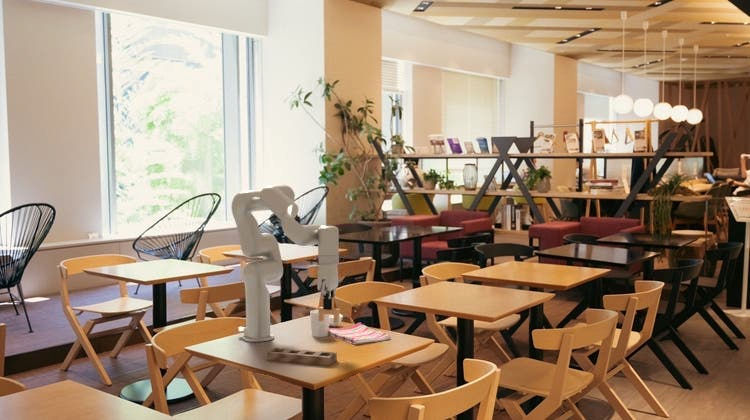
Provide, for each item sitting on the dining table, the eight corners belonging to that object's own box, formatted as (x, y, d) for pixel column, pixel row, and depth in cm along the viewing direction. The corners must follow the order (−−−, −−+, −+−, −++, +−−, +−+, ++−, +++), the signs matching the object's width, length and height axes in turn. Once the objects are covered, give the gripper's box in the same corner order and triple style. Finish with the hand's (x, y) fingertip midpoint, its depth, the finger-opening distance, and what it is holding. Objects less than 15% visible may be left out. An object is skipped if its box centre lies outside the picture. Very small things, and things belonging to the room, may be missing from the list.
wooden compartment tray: (267, 360, 260) (267, 352, 260) (275, 355, 267) (275, 347, 266) (329, 366, 253) (329, 357, 253) (336, 360, 259) (336, 352, 259)
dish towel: (360, 329, 309) (360, 321, 309) (391, 340, 290) (391, 332, 289) (325, 335, 299) (325, 327, 299) (355, 347, 280) (355, 338, 280)
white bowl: (336, 330, 306) (336, 314, 306) (311, 327, 311) (311, 312, 310) (347, 325, 315) (347, 309, 315) (322, 322, 320) (322, 307, 320)
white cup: (315, 338, 292) (314, 314, 291) (307, 334, 299) (307, 310, 298) (332, 336, 296) (332, 312, 295) (325, 332, 303) (324, 308, 302)
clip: (317, 320, 269) (319, 297, 268) (320, 319, 271) (321, 296, 270) (337, 323, 266) (338, 299, 266) (339, 322, 268) (340, 298, 268)
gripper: (327, 256, 276) (327, 304, 277) (310, 262, 260) (311, 312, 262) (345, 257, 273) (345, 305, 275) (330, 262, 258) (330, 313, 259)
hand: (329, 308), depth 268 cm, fingers closed on clip, 2 cm apart
